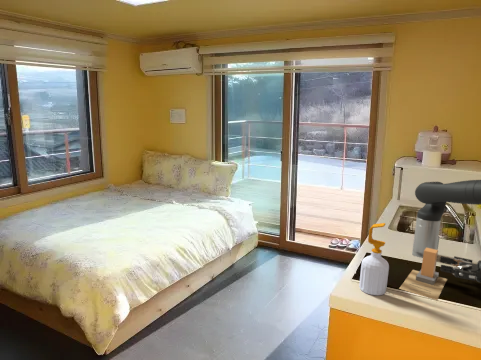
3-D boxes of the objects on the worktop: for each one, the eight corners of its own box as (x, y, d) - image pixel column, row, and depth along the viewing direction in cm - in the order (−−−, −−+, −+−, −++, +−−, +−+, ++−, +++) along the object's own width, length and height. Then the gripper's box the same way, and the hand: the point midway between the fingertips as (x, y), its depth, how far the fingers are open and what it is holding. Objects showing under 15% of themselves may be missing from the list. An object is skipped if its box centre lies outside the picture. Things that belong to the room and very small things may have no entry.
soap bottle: (383, 298, 124) (391, 229, 119) (356, 291, 129) (362, 224, 124) (388, 288, 132) (396, 222, 127) (362, 281, 136) (369, 217, 132)
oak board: (412, 273, 144) (412, 269, 144) (446, 282, 137) (447, 278, 137) (398, 292, 129) (399, 288, 129) (436, 304, 122) (437, 300, 121)
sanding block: (421, 271, 142) (424, 244, 140) (438, 276, 139) (442, 248, 137) (415, 280, 135) (419, 251, 133) (433, 285, 132) (437, 256, 130)
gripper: (492, 256, 132) (441, 247, 140) (498, 271, 120) (442, 260, 127) (488, 275, 134) (438, 265, 141) (494, 292, 122) (439, 280, 129)
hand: (440, 263), depth 134 cm, fingers open, 8 cm apart
